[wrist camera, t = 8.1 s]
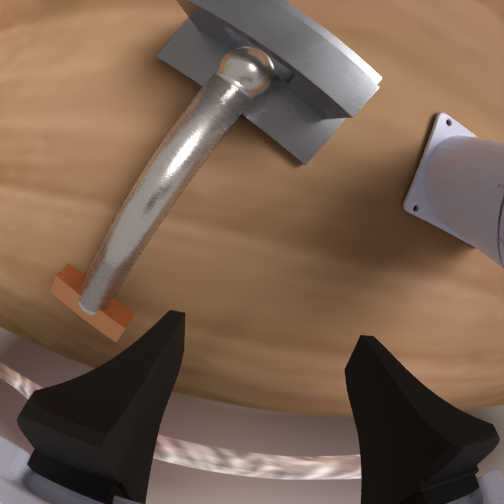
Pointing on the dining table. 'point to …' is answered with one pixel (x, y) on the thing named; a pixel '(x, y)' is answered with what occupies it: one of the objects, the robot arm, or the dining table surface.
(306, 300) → the dining table surface
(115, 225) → the metal rod with plate
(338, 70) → the grey hammer
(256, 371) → the dining table surface
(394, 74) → the dining table surface
